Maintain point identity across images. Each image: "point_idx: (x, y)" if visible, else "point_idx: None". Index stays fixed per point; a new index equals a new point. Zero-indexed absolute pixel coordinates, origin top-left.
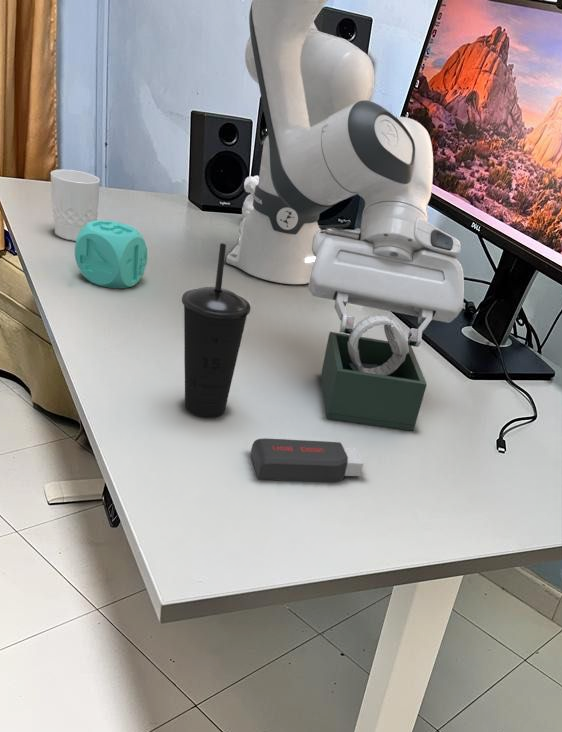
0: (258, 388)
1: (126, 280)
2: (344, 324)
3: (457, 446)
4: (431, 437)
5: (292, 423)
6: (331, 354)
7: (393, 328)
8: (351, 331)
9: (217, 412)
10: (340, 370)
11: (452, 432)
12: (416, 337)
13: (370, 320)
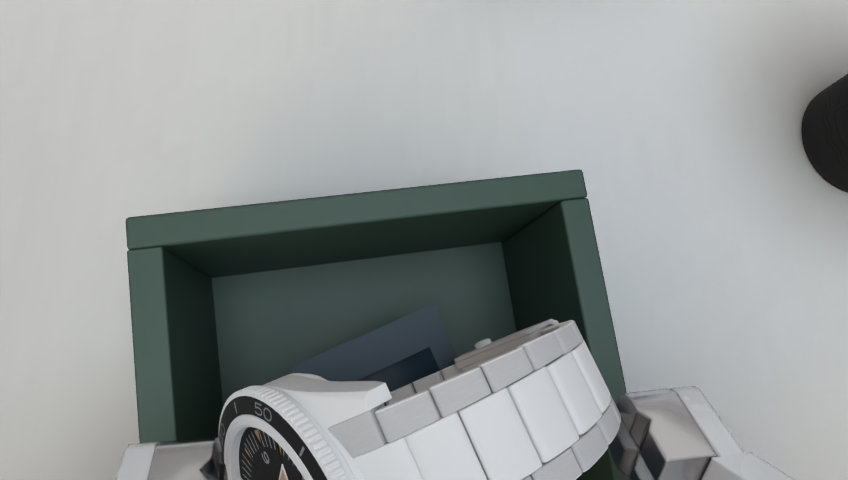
0: (757, 348)
1: None
2: (690, 395)
3: (12, 210)
4: (118, 242)
5: (611, 150)
6: None
7: (367, 383)
8: (619, 405)
9: (822, 92)
10: (570, 174)
11: (12, 322)
12: (162, 459)
13: (554, 409)
